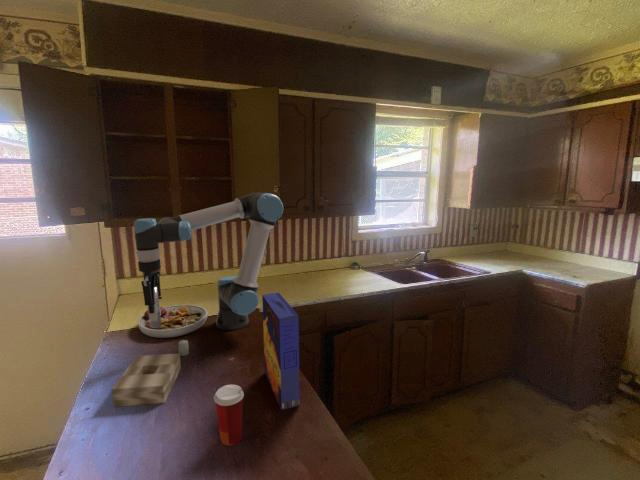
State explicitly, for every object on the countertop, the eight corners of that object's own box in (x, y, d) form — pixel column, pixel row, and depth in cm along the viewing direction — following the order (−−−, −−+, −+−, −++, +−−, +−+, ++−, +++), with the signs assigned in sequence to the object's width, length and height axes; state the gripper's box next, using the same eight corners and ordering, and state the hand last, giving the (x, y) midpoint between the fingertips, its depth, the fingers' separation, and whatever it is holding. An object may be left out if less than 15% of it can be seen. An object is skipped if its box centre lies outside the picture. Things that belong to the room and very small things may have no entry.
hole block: (180, 368, 129) (179, 353, 128) (164, 402, 110) (163, 385, 109) (138, 371, 127) (136, 356, 126) (113, 406, 108) (111, 389, 107)
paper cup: (247, 427, 99) (246, 383, 96) (242, 448, 91) (240, 400, 89) (220, 428, 99) (217, 383, 96) (212, 449, 91) (209, 401, 89)
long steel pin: (162, 323, 138) (158, 285, 135) (159, 327, 135) (155, 288, 132) (152, 324, 138) (148, 285, 135) (149, 328, 134) (145, 289, 131)
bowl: (217, 315, 179) (216, 300, 177) (190, 342, 150) (189, 325, 148) (161, 312, 182) (160, 298, 180) (124, 339, 152) (122, 322, 151)
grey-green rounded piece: (189, 351, 142) (188, 339, 141) (187, 355, 138) (186, 344, 137) (180, 351, 141) (179, 340, 140) (178, 356, 138) (177, 344, 137)
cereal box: (264, 373, 126) (262, 294, 121) (280, 369, 128) (279, 292, 123) (281, 410, 106) (278, 317, 101) (299, 405, 108) (298, 314, 103)
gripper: (146, 255, 139) (152, 310, 143) (129, 266, 123) (137, 328, 127) (166, 254, 140) (171, 309, 144) (152, 265, 123) (158, 326, 128)
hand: (155, 318), depth 136 cm, fingers closed on long steel pin, 3 cm apart
